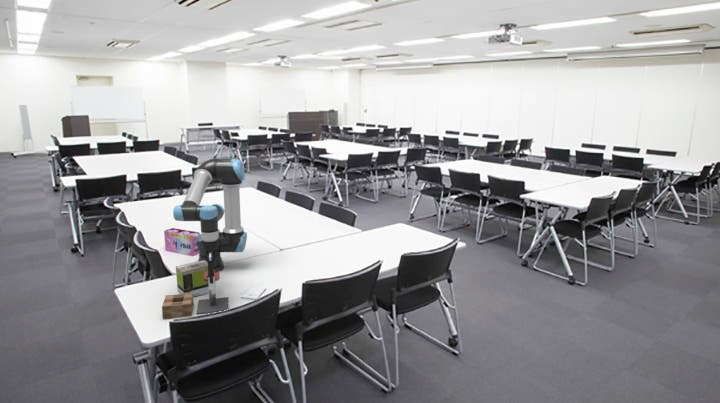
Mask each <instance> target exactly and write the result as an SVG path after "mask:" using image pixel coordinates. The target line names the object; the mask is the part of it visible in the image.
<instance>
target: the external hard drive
mask: <svg viewBox="0 0 720 403" xmlns="http://www.w3.org/2000/svg"><path fill="white" fill-rule="evenodd" d="M266 290H267V289H266V288H265V287H259V286H256V287H255V286H251V287H249V289H247V290H246V291H245V293H244V294H242V296H240V299H241V300H250V301H257V300H258V299H259V298H260V297H261V296H262V295H263V293H265V292H266ZM256 299H257V300H256Z"/></svg>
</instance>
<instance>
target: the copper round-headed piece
mask: <svg viewBox="0 0 720 403" xmlns="http://www.w3.org/2000/svg"><path fill="white" fill-rule="evenodd" d="M207 276H208V271H206V272H205V273H204V281H206V282H208V277H207ZM214 276H215V281H216V282H217V281H220V278H221V276H220V271H217V270H214ZM216 282H215V289H213V290H209V293H208V296H209V297H208V299H210V304H215V303H216V298H217V288H216V287H217V286H216Z"/></svg>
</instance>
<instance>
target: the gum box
mask: <svg viewBox="0 0 720 403" xmlns="http://www.w3.org/2000/svg"><path fill="white" fill-rule="evenodd" d="M199 233H200V232H199V231H195V230H194V231H193V230H185V229H180V228H174V227H172V228H168V229H165V230H163V235H164V244H165V245H164V249H165V251H166V252H170V253H176V254H180V255H185V256H190V257H194V256H196V255H199V245H198V235H199Z"/></svg>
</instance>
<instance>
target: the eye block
mask: <svg viewBox="0 0 720 403" xmlns="http://www.w3.org/2000/svg"><path fill="white" fill-rule="evenodd" d="M194 303H195V302H194V297H193V293H187V294H179V293H178V294H177V293H176V294H165V296H164V300H163V303H162V305H161V312H162V320H169V319H178V318H179V319H181V318H187V317H193V310H194V305H195V304H194Z"/></svg>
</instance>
